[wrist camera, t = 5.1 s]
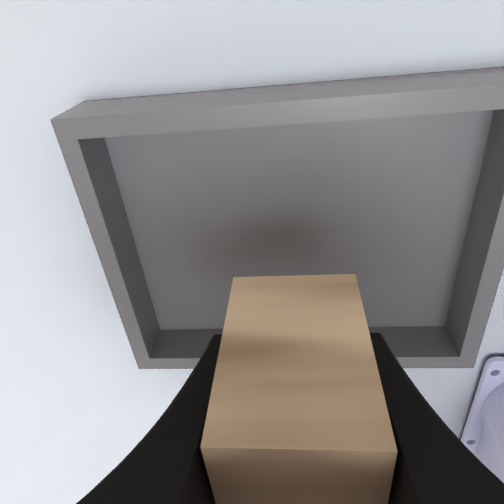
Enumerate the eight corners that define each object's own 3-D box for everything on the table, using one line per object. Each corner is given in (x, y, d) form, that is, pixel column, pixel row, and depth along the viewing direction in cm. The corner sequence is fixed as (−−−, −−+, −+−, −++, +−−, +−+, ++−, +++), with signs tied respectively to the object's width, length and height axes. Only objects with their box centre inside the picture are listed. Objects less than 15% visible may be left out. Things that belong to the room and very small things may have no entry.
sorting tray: (453, 326, 23) (473, 367, 20) (154, 330, 25) (138, 368, 22) (516, 65, 15) (559, 80, 13) (84, 101, 17) (50, 119, 15)
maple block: (350, 359, 15) (381, 542, 10) (245, 359, 16) (224, 535, 11) (355, 273, 13) (397, 451, 8) (233, 277, 13) (200, 447, 8)
